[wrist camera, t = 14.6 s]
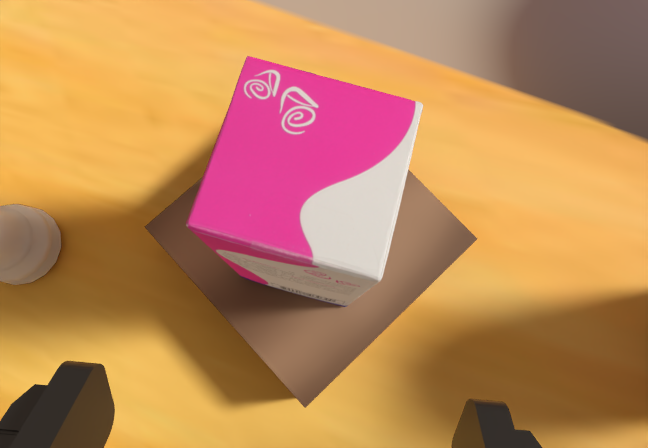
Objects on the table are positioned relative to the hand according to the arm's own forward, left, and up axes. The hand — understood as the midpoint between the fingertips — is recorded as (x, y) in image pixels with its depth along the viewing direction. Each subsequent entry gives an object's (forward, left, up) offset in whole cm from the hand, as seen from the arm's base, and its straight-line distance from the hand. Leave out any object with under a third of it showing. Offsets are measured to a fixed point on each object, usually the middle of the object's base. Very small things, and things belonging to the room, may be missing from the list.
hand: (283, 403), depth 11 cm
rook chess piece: (+15, +7, -17) cm, 24 cm away
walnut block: (+4, -5, -17) cm, 18 cm away
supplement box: (+4, -4, -13) cm, 15 cm away
